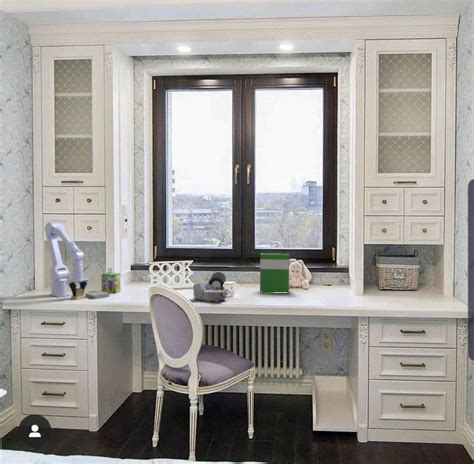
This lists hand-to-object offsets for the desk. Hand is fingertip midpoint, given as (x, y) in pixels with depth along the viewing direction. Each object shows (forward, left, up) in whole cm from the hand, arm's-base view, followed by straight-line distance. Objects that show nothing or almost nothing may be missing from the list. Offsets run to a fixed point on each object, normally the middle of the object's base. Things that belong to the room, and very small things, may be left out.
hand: (78, 295), depth 340 cm
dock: (+3, +11, -2) cm, 12 cm away
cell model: (+57, +53, -2) cm, 78 cm away
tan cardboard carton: (0, 0, -2) cm, 2 cm away
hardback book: (+65, +100, -2) cm, 119 cm away
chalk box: (-5, +26, -2) cm, 27 cm away
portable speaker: (+34, +80, -2) cm, 87 cm away
